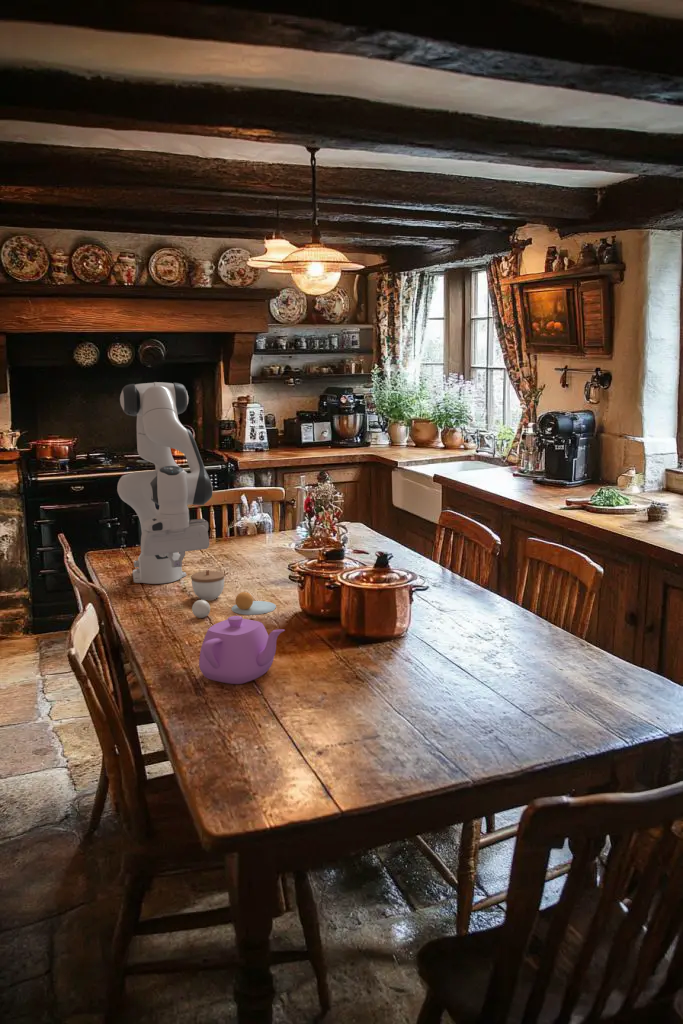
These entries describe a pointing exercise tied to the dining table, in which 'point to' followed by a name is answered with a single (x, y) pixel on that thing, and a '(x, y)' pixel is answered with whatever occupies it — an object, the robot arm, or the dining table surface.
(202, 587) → the lidded jar
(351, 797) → the dining table surface
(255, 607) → the gray disc
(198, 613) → the cue ball
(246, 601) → the object ball
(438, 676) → the dining table surface
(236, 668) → the teapot
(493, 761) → the dining table surface
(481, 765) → the dining table surface
